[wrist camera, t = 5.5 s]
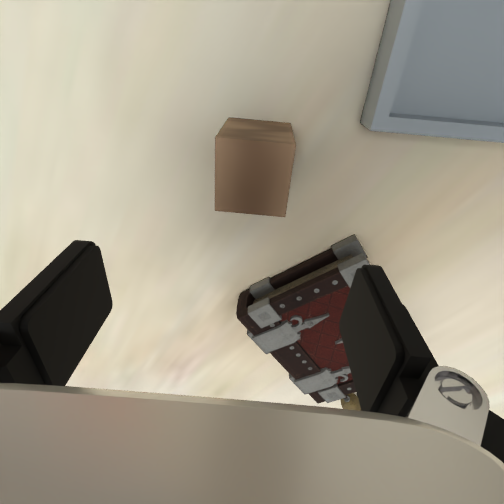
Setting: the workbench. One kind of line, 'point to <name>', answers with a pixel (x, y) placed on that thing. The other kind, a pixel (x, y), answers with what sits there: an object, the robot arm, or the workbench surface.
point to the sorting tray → (440, 70)
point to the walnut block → (253, 166)
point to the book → (307, 321)
